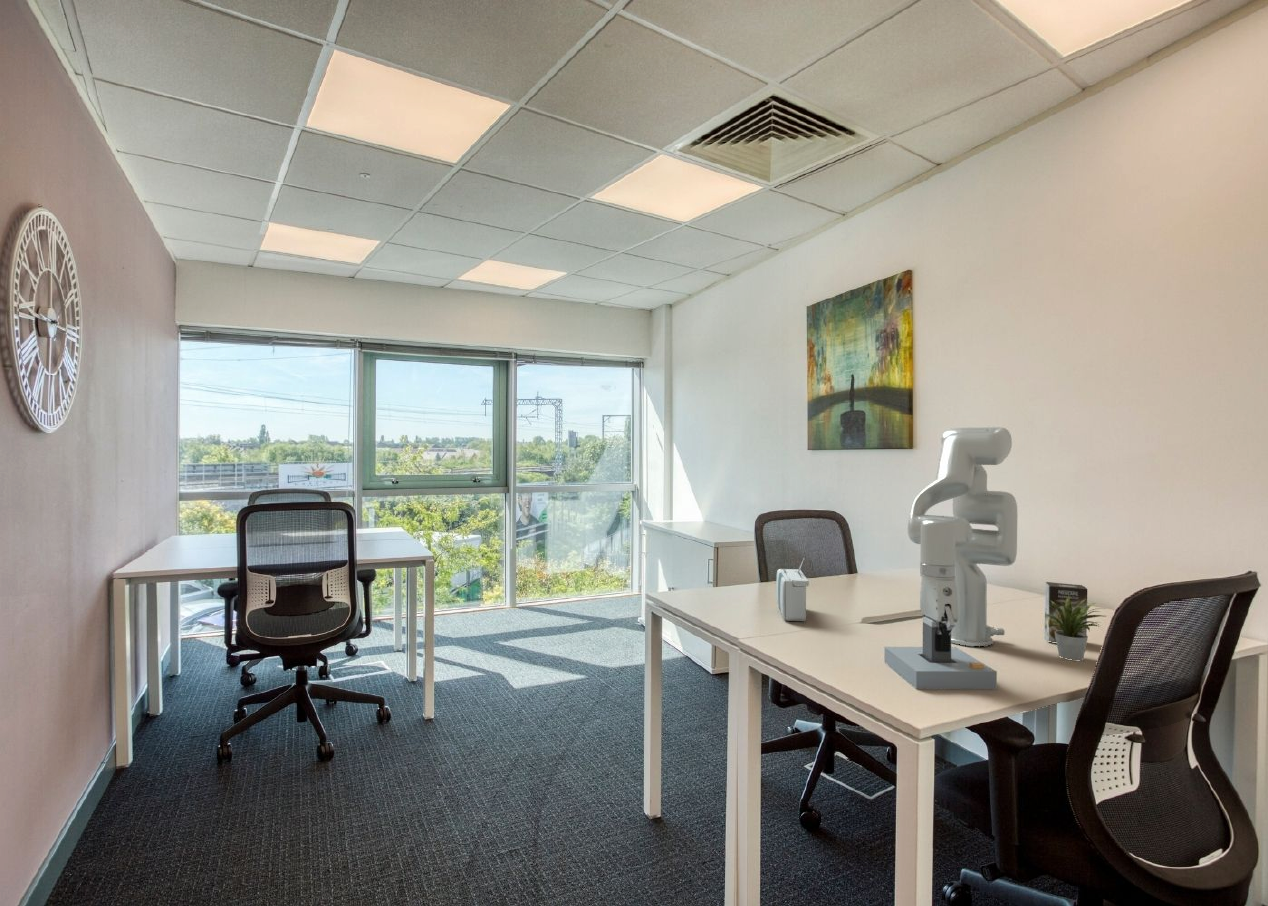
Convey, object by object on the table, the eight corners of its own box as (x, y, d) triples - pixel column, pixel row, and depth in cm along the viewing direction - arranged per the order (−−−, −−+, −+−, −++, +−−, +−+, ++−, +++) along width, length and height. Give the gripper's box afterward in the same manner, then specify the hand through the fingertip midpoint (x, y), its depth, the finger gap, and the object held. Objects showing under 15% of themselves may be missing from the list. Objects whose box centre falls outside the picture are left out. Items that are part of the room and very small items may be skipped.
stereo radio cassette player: (775, 606, 219) (776, 548, 219) (800, 607, 218) (800, 548, 218) (782, 622, 198) (782, 558, 198) (809, 623, 197) (809, 559, 197)
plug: (941, 658, 153) (941, 617, 154) (951, 664, 149) (951, 621, 149) (922, 658, 153) (922, 616, 153) (931, 664, 149) (931, 621, 149)
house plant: (1080, 671, 154) (1080, 604, 154) (1025, 654, 167) (1025, 592, 167) (1116, 664, 160) (1116, 599, 160) (1060, 648, 173) (1061, 588, 173)
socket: (955, 662, 160) (955, 643, 160) (996, 689, 142) (996, 668, 142) (884, 662, 160) (884, 643, 160) (916, 689, 142) (916, 667, 142)
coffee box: (1047, 643, 177) (1048, 585, 177) (1044, 637, 183) (1044, 581, 183) (1087, 647, 174) (1087, 588, 174) (1082, 641, 179) (1082, 584, 179)
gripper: (972, 578, 143) (971, 659, 143) (936, 565, 160) (935, 638, 160) (939, 577, 143) (938, 659, 143) (906, 565, 160) (906, 637, 160)
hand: (937, 647), depth 151 cm, fingers closed on plug, 4 cm apart
